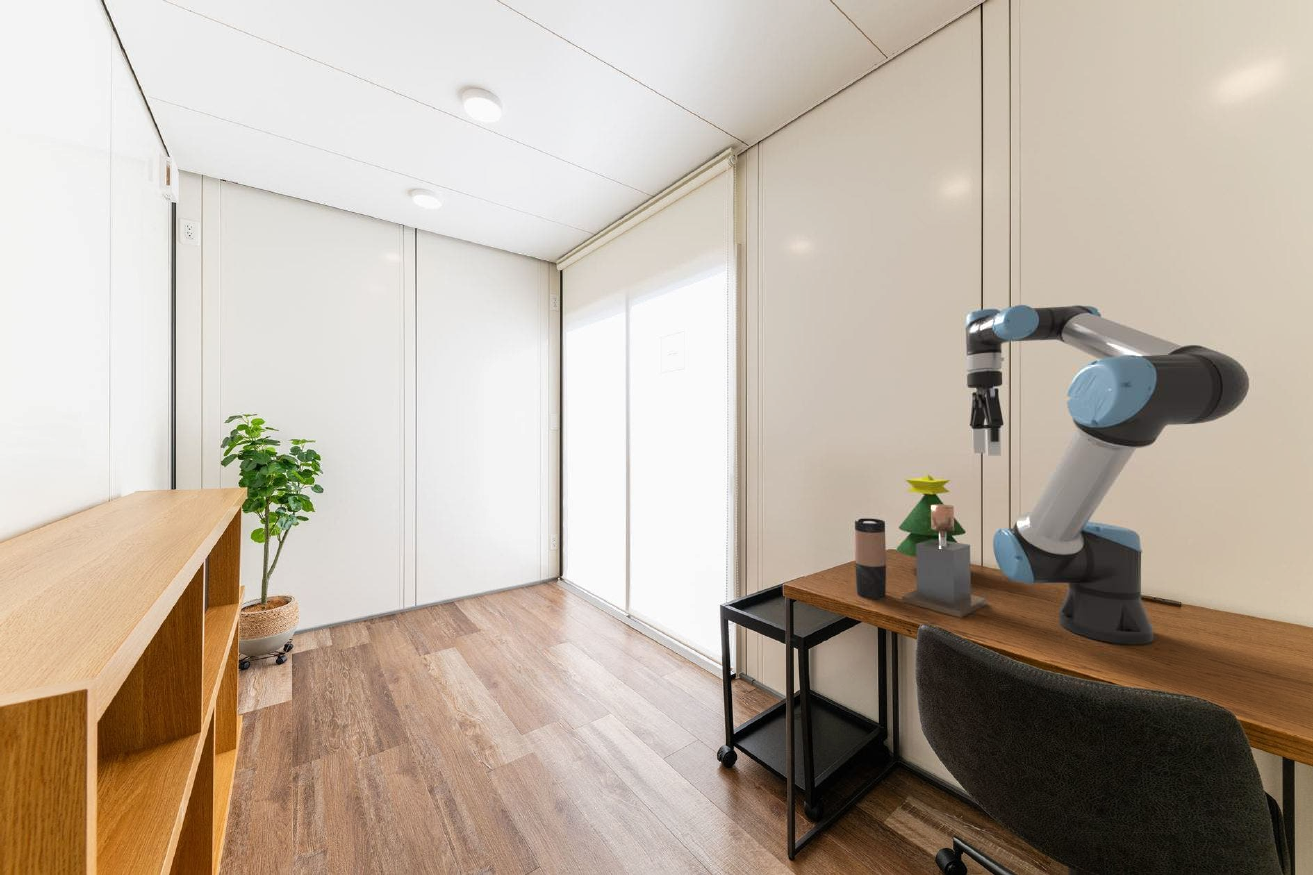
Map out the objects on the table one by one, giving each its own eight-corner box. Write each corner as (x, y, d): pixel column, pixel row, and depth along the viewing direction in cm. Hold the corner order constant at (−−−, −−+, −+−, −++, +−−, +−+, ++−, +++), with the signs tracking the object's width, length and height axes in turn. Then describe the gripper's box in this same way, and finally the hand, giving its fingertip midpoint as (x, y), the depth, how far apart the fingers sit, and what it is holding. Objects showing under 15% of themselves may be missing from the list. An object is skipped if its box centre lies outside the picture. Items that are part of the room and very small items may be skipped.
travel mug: (891, 599, 129) (890, 523, 129) (862, 599, 130) (861, 523, 129) (879, 589, 137) (877, 517, 137) (851, 590, 137) (850, 518, 137)
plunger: (958, 588, 125) (957, 505, 125) (949, 592, 122) (947, 508, 122) (937, 583, 129) (936, 503, 129) (928, 587, 126) (927, 505, 126)
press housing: (986, 604, 124) (985, 544, 124) (960, 617, 116) (959, 554, 116) (929, 590, 135) (928, 535, 135) (902, 601, 127) (901, 543, 127)
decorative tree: (942, 585, 139) (940, 479, 139) (883, 568, 156) (881, 474, 156) (982, 574, 148) (980, 474, 147) (922, 559, 165) (921, 470, 165)
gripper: (1018, 364, 114) (1020, 456, 114) (987, 375, 137) (989, 451, 137) (980, 366, 116) (982, 456, 116) (956, 377, 140) (958, 452, 140)
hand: (986, 454), depth 127 cm, fingers open, 13 cm apart
